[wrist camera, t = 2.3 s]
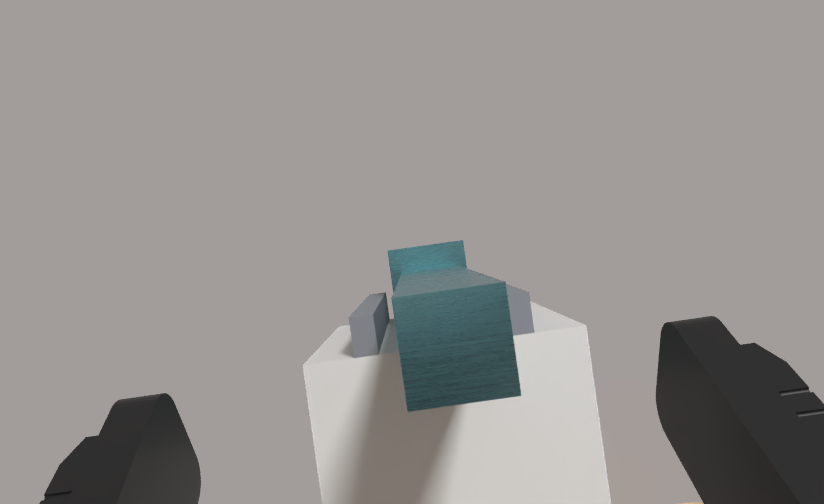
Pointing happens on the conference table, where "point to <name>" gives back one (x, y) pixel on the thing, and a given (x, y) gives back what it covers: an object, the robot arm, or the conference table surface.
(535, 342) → the tall white pedestal box
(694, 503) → the conference table surface
